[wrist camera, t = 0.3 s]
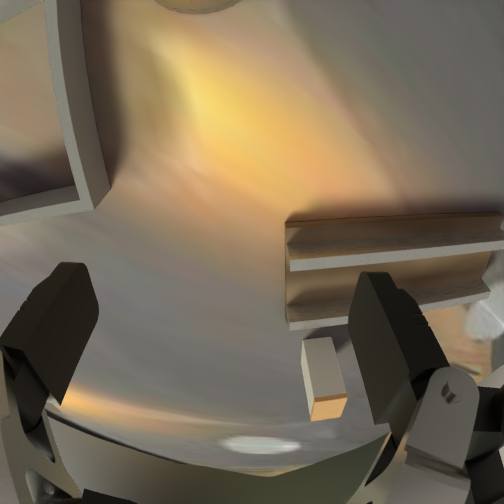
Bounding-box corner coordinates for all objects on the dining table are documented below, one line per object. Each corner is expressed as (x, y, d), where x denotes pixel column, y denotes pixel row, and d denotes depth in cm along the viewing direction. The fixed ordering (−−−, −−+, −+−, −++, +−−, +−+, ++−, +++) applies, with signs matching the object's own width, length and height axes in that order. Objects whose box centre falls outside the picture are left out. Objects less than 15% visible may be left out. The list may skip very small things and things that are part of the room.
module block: (302, 339, 38) (314, 402, 30) (331, 336, 38) (347, 397, 30) (300, 363, 41) (311, 421, 33) (327, 359, 41) (340, 416, 33)
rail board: (284, 222, 28) (290, 244, 26) (498, 211, 28) (515, 227, 25) (285, 316, 35) (289, 340, 32) (471, 290, 35) (483, 307, 32)
